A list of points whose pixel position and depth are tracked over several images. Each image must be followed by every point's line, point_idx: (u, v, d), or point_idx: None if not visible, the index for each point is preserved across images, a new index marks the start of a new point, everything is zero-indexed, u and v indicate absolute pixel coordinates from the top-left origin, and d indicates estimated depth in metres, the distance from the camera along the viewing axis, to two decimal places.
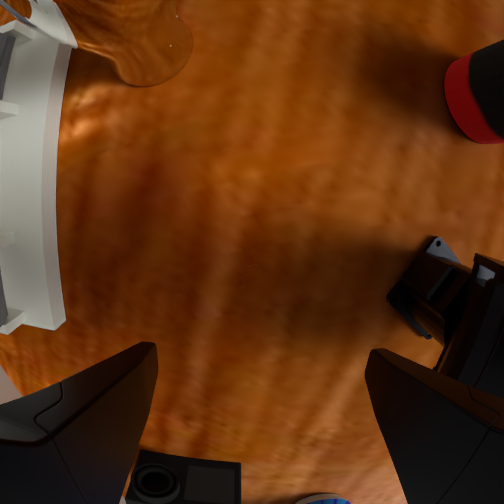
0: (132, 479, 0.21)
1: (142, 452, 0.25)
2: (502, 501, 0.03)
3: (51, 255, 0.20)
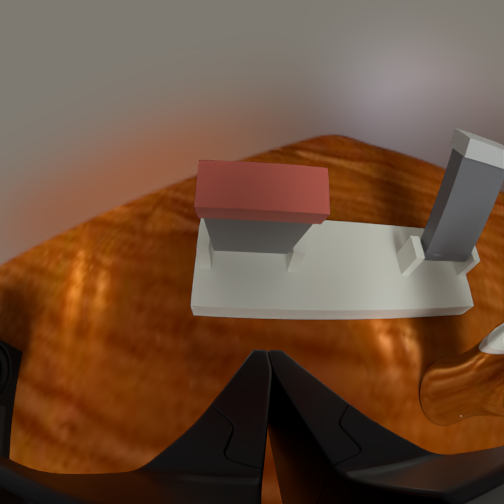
0: None
1: (19, 353, 0.19)
2: None
3: (271, 314, 0.23)
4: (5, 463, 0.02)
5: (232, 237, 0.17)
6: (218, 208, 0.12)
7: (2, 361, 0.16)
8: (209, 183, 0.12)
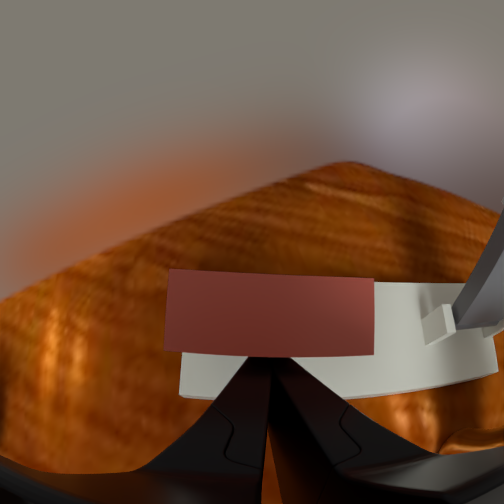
0: None
1: None
2: None
3: None
4: (5, 463, 0.02)
5: None
6: (202, 353, 0.07)
7: None
8: (186, 311, 0.07)
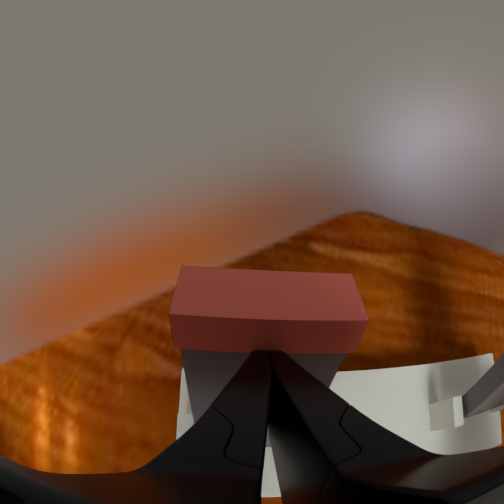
0: None
1: None
2: None
3: None
4: (5, 463, 0.02)
5: None
6: (205, 318, 0.08)
7: None
8: (193, 289, 0.08)
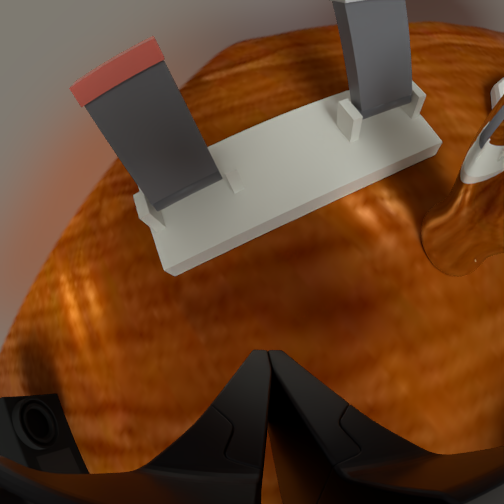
0: (27, 399, 0.18)
1: (55, 396, 0.22)
2: None
3: (239, 239, 0.23)
4: (5, 463, 0.02)
5: (138, 150, 0.17)
6: (83, 80, 0.13)
7: (42, 411, 0.19)
8: (80, 79, 0.13)
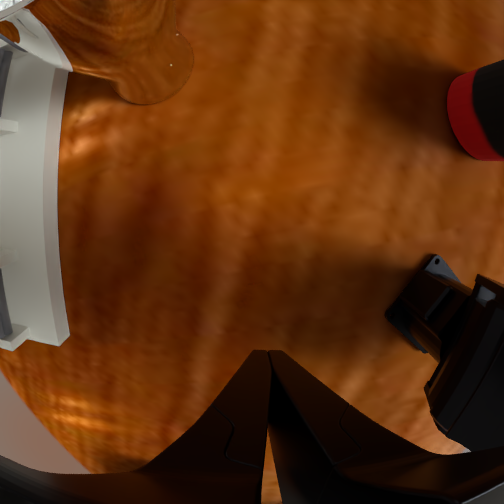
0: None
1: None
2: None
3: (54, 273, 0.20)
4: (5, 463, 0.02)
5: None
6: None
7: None
8: None
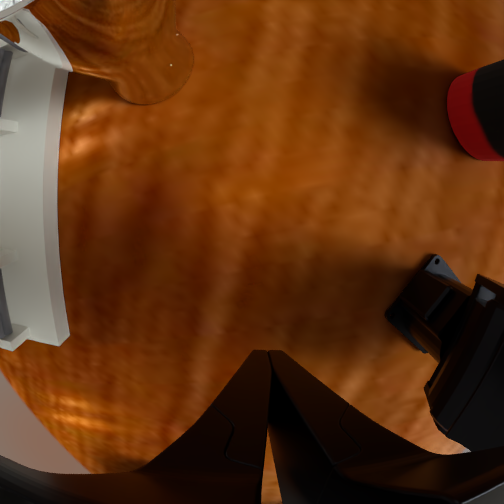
0: None
1: None
2: None
3: (54, 273, 0.20)
4: (5, 463, 0.02)
5: None
6: None
7: None
8: None
